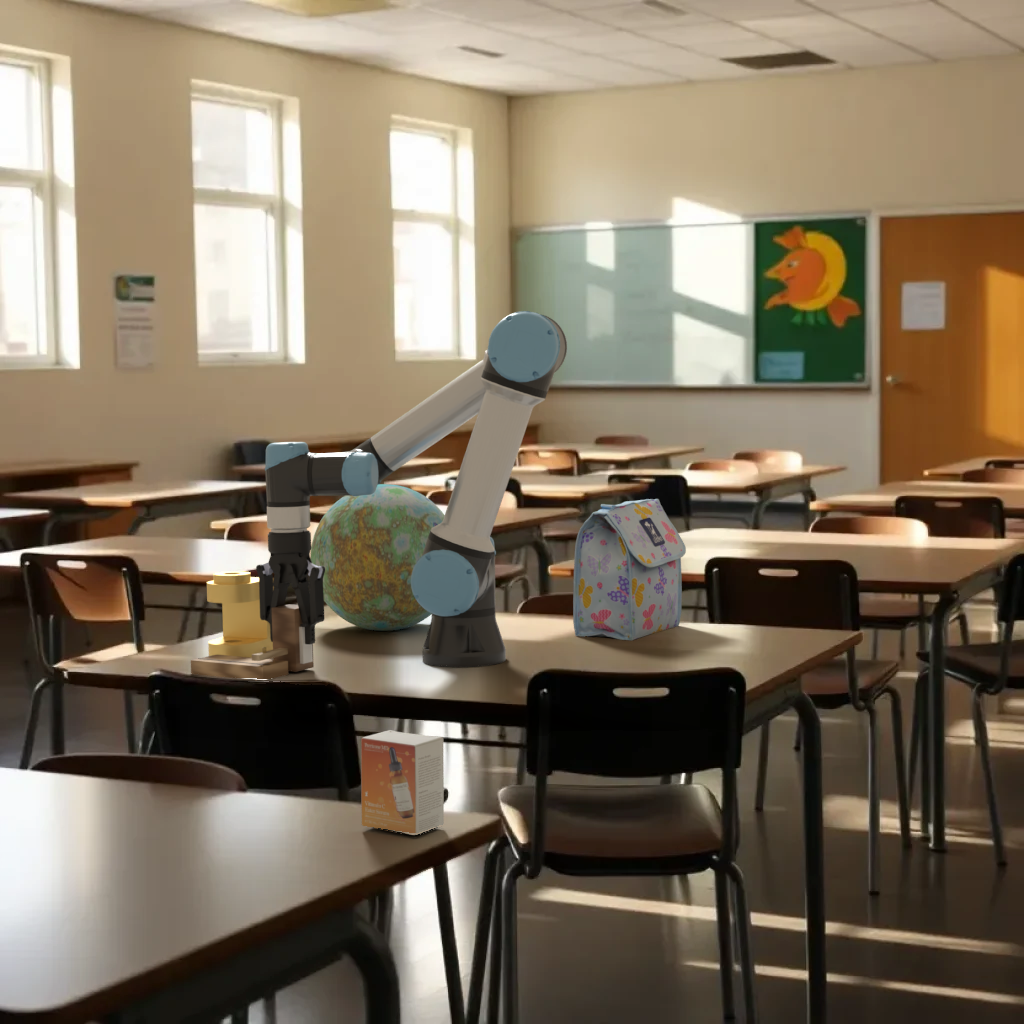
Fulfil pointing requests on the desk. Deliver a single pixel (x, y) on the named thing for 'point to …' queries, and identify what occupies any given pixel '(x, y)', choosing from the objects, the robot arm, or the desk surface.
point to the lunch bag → (627, 572)
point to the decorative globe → (374, 556)
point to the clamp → (238, 615)
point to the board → (239, 667)
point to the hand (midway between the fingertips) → (293, 661)
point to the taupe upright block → (285, 638)
